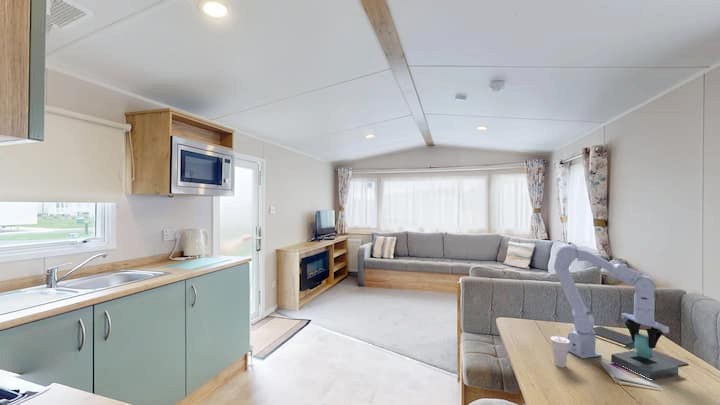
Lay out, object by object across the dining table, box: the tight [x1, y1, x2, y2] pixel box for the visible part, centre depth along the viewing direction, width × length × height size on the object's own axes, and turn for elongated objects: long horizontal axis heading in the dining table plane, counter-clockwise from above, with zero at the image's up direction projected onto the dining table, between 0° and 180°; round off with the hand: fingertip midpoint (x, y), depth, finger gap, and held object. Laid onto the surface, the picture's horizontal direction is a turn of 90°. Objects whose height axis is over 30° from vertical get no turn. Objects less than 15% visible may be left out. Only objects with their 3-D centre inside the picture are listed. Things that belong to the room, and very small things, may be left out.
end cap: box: [634, 332, 654, 358], centre depth 118 cm, size 5×5×7 cm
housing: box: [610, 349, 679, 381], centre depth 118 cm, size 14×13×3 cm
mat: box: [653, 350, 689, 367], centre depth 124 cm, size 11×11×1 cm
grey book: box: [593, 326, 635, 351], centre depth 144 cm, size 20×2×15 cm
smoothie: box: [550, 326, 570, 368], centre depth 120 cm, size 6×6×14 cm
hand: (643, 344), depth 118 cm, fingers closed on end cap, 5 cm apart
